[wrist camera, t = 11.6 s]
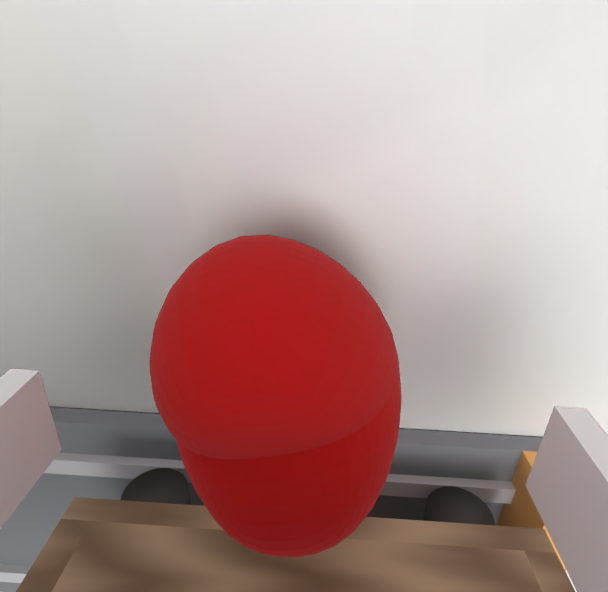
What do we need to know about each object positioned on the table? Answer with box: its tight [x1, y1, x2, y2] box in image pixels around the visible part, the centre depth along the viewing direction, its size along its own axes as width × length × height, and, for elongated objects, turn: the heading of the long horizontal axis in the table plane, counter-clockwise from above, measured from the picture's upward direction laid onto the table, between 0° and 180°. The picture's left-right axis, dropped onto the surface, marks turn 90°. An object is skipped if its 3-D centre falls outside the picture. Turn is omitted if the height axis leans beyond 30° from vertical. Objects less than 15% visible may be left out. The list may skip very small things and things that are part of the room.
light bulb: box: [150, 235, 401, 557], centre depth 14 cm, size 9×7×10 cm
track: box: [0, 407, 566, 592], centre depth 23 cm, size 35×15×4 cm, turn 88°
